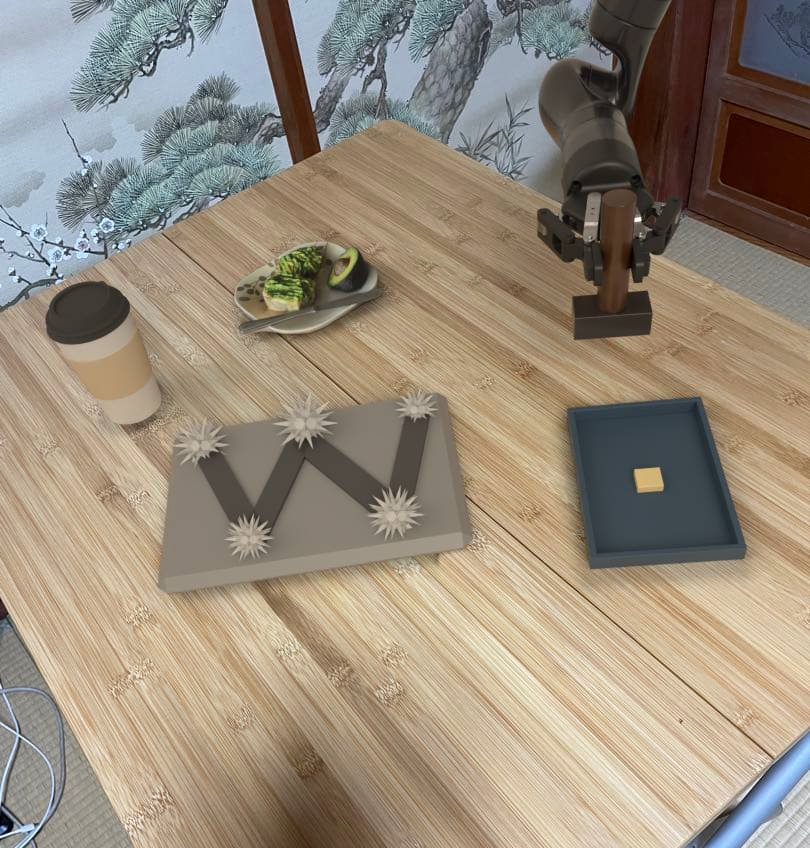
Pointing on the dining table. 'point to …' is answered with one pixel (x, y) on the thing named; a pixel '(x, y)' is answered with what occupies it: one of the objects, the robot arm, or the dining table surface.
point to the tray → (661, 510)
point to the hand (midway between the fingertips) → (619, 275)
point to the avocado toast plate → (306, 289)
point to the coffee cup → (105, 349)
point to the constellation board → (312, 493)
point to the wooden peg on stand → (614, 279)
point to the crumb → (648, 480)
